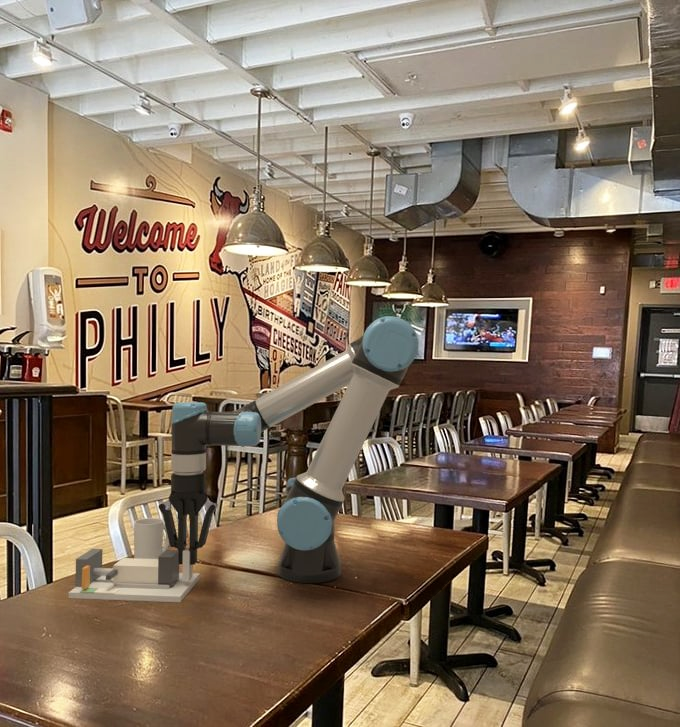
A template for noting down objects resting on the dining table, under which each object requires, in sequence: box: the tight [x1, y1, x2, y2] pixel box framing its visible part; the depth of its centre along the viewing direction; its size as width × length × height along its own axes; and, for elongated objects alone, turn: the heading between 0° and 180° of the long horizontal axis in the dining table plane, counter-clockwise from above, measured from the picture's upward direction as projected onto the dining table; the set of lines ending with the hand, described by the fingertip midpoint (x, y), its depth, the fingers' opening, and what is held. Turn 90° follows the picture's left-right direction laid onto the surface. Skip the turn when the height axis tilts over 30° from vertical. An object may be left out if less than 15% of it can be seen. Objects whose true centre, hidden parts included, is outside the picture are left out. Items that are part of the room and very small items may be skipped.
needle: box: [82, 566, 90, 589], centre depth 136 cm, size 1×2×4 cm, turn 177°
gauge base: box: [68, 548, 201, 603], centre depth 142 cm, size 24×15×7 cm, turn 87°
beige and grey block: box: [106, 549, 180, 587], centre depth 140 cm, size 13×9×6 cm
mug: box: [133, 517, 170, 559], centre depth 155 cm, size 10×7×12 cm, turn 147°
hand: (187, 578), depth 141 cm, fingers closed
